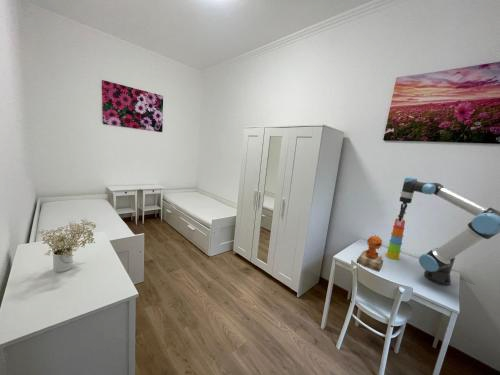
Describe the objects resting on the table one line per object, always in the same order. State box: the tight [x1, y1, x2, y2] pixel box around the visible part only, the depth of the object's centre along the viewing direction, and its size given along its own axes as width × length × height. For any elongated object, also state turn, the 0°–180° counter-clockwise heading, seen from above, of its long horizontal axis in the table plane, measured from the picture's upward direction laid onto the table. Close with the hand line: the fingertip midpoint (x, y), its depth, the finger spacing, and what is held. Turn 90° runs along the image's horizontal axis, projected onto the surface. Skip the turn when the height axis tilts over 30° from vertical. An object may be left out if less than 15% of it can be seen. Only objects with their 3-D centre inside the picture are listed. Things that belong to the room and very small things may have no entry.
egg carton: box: [356, 250, 384, 273], centre depth 172 cm, size 16×16×6 cm
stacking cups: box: [385, 217, 406, 260], centre depth 184 cm, size 10×10×35 cm
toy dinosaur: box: [364, 234, 383, 258], centre depth 170 cm, size 11×11×18 cm
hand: (399, 223), depth 170 cm, fingers open, 13 cm apart
